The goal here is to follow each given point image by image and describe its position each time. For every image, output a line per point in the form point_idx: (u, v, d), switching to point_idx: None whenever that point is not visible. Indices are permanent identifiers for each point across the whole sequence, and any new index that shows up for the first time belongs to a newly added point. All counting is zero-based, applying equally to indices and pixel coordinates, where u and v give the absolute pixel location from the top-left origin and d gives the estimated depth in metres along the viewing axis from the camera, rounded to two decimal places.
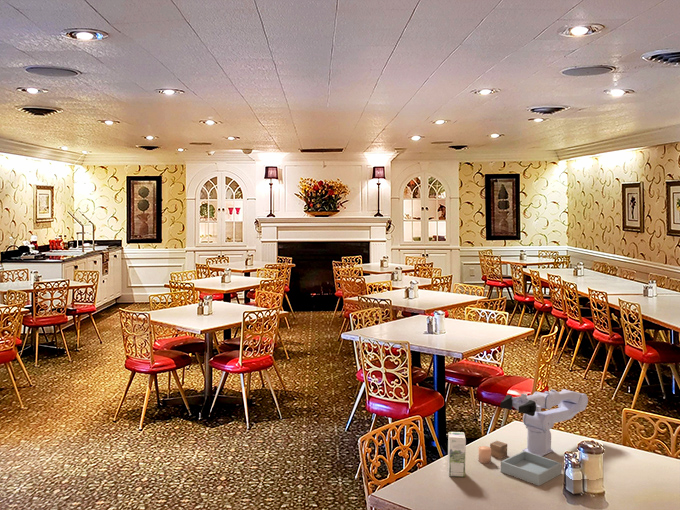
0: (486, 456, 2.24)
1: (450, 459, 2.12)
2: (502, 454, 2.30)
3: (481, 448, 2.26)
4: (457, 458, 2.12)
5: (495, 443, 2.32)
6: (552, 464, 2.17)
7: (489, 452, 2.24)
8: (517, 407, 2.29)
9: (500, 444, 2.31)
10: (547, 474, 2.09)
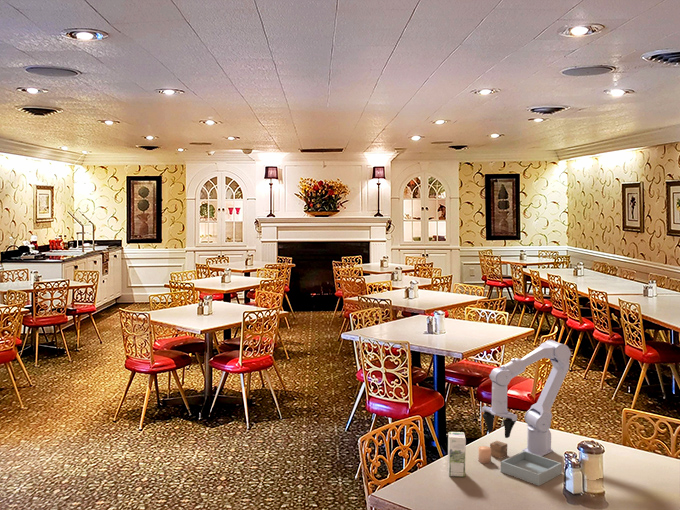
0: (486, 456, 2.24)
1: (450, 459, 2.12)
2: (502, 454, 2.30)
3: (481, 448, 2.26)
4: (457, 458, 2.12)
5: (495, 443, 2.32)
6: (552, 464, 2.17)
7: (489, 452, 2.24)
8: None
9: (500, 444, 2.31)
10: (547, 474, 2.09)
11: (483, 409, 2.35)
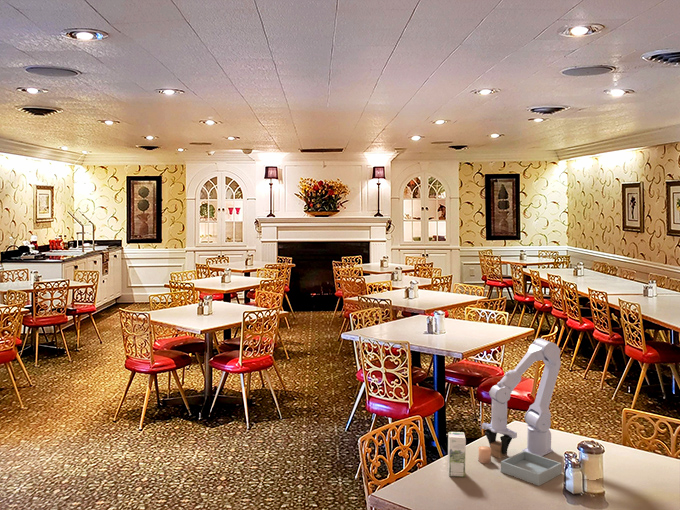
0: (486, 456, 2.24)
1: (450, 459, 2.12)
2: (502, 454, 2.30)
3: (481, 448, 2.26)
4: (457, 458, 2.12)
5: (495, 443, 2.32)
6: (552, 464, 2.17)
7: (489, 452, 2.24)
8: None
9: (500, 444, 2.31)
10: (547, 474, 2.09)
11: (483, 426, 2.36)
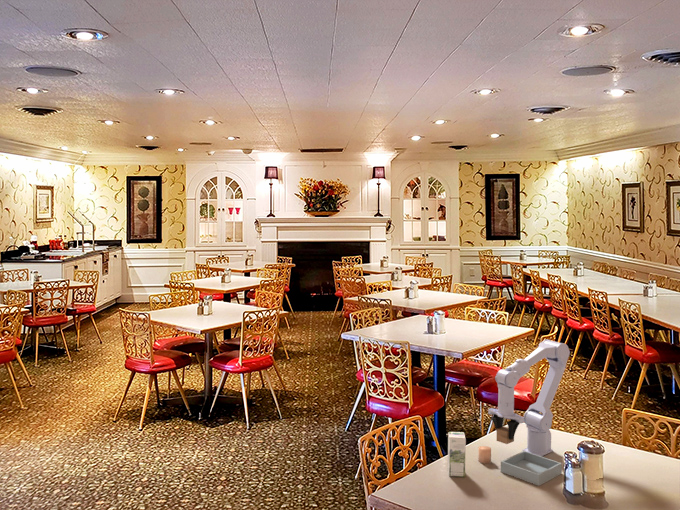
0: (486, 456, 2.24)
1: (450, 459, 2.12)
2: (509, 439, 2.26)
3: (481, 448, 2.26)
4: (457, 458, 2.12)
5: (502, 428, 2.28)
6: (552, 464, 2.17)
7: (489, 452, 2.24)
8: None
9: (507, 430, 2.27)
10: (547, 474, 2.09)
11: (489, 411, 2.32)
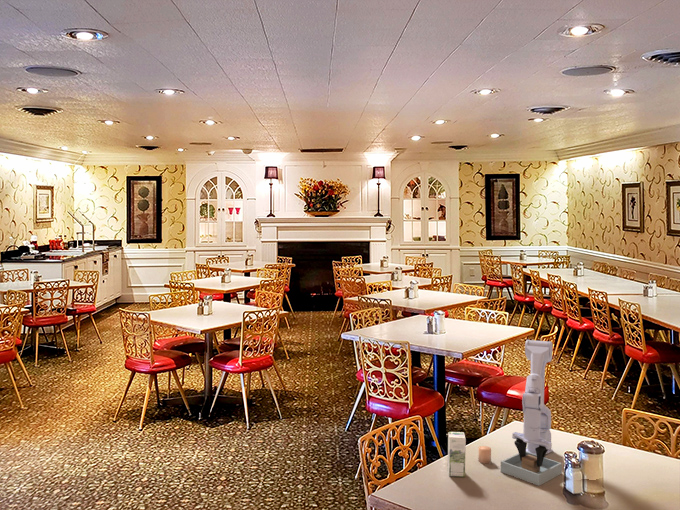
0: (486, 456, 2.24)
1: (450, 459, 2.12)
2: (535, 469, 2.14)
3: (481, 448, 2.26)
4: (457, 458, 2.12)
5: (527, 457, 2.16)
6: (552, 464, 2.17)
7: (489, 452, 2.24)
8: None
9: (533, 459, 2.15)
10: (547, 474, 2.09)
11: (514, 435, 2.20)
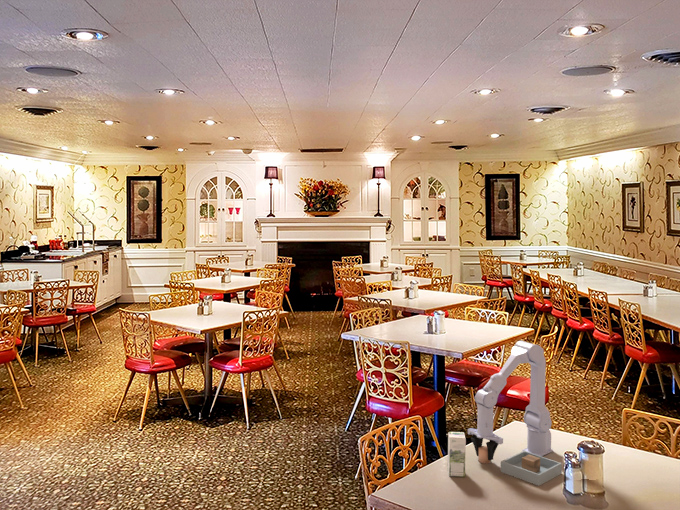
0: (486, 456, 2.24)
1: (450, 459, 2.12)
2: (535, 469, 2.14)
3: (481, 448, 2.26)
4: (457, 458, 2.12)
5: (527, 457, 2.16)
6: (552, 464, 2.17)
7: None
8: None
9: (533, 459, 2.15)
10: (547, 474, 2.09)
11: (469, 431, 2.30)
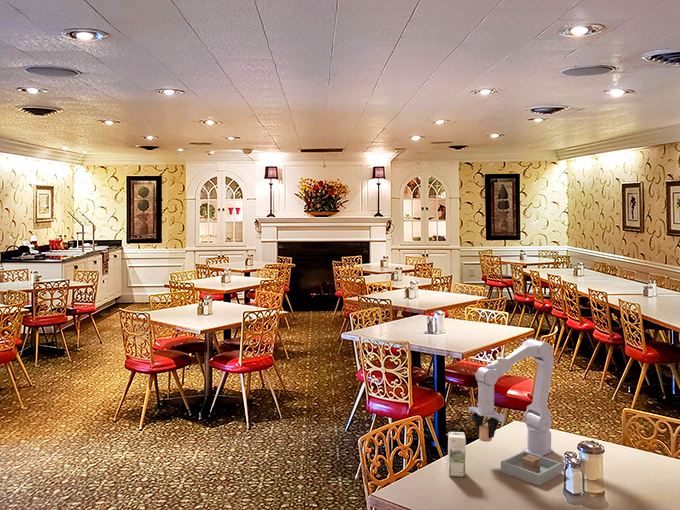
0: (487, 434, 2.23)
1: (450, 459, 2.12)
2: (535, 469, 2.14)
3: (482, 426, 2.25)
4: (457, 458, 2.12)
5: (527, 457, 2.16)
6: (552, 464, 2.17)
7: None
8: None
9: (533, 459, 2.15)
10: (547, 474, 2.09)
11: (469, 409, 2.29)
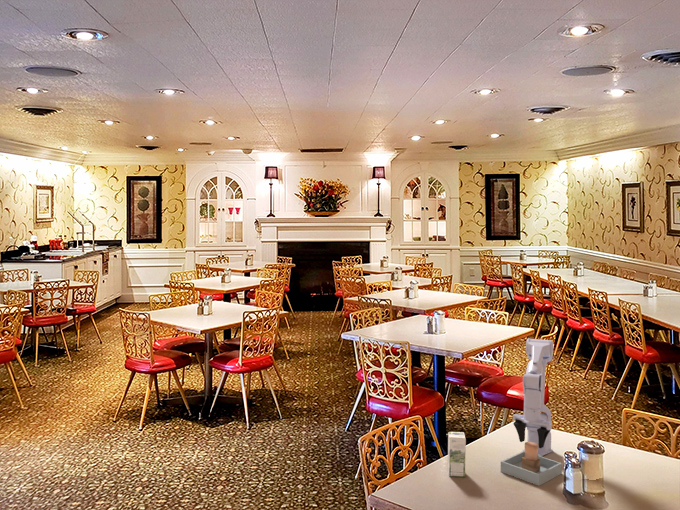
0: (534, 452, 2.13)
1: (450, 459, 2.12)
2: (535, 469, 2.14)
3: (527, 444, 2.15)
4: (457, 458, 2.12)
5: None
6: (552, 464, 2.17)
7: (536, 448, 2.14)
8: None
9: None
10: (547, 474, 2.09)
11: (514, 417, 2.19)
